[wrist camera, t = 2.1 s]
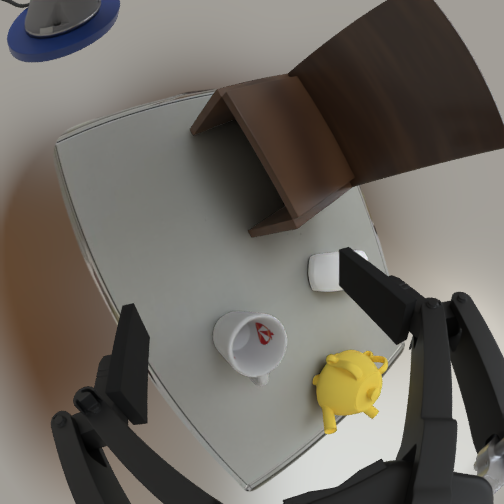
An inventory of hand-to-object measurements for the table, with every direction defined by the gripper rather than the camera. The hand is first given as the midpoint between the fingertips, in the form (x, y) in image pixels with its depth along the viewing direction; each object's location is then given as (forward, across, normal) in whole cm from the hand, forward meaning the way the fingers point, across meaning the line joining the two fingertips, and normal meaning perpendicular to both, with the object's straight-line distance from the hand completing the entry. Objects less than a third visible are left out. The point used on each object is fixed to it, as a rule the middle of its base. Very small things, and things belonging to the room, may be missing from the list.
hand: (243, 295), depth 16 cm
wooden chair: (+27, +8, +3) cm, 29 cm away
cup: (+16, -1, -18) cm, 24 cm away
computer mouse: (+24, +19, -16) cm, 35 cm away
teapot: (+14, +14, -36) cm, 41 cm away
